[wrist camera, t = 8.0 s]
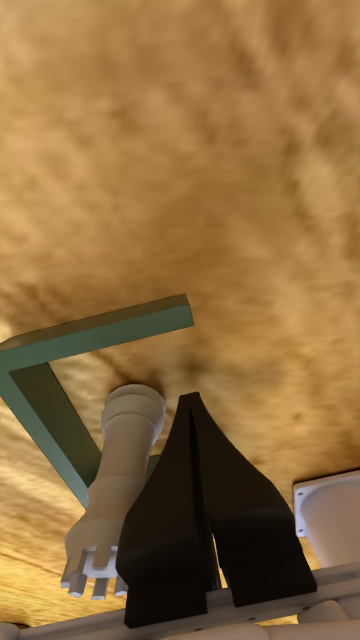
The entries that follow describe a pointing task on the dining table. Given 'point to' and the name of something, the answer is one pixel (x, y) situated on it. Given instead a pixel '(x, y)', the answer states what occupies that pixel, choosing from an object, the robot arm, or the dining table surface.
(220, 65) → the dining table surface
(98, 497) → the rook chess piece
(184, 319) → the bay
